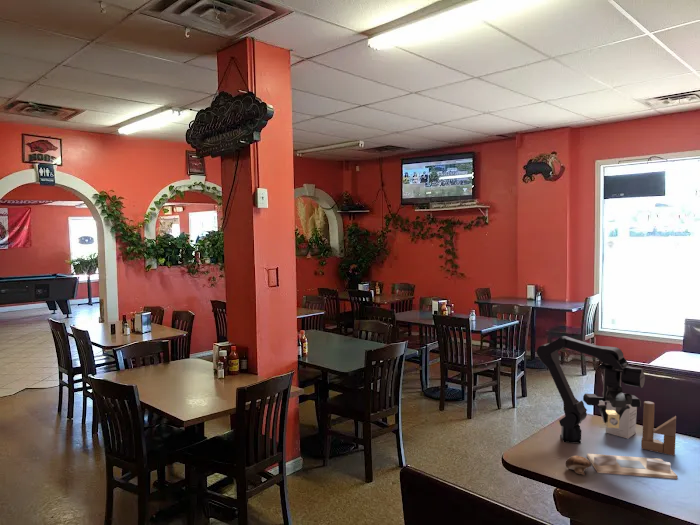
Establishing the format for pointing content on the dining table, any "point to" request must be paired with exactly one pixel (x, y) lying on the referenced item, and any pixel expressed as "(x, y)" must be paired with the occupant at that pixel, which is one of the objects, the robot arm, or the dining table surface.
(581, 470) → the mushroom
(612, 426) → the block
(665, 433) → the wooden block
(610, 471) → the tan board grey square
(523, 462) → the dining table surface
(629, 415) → the supplement box
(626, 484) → the dining table surface
